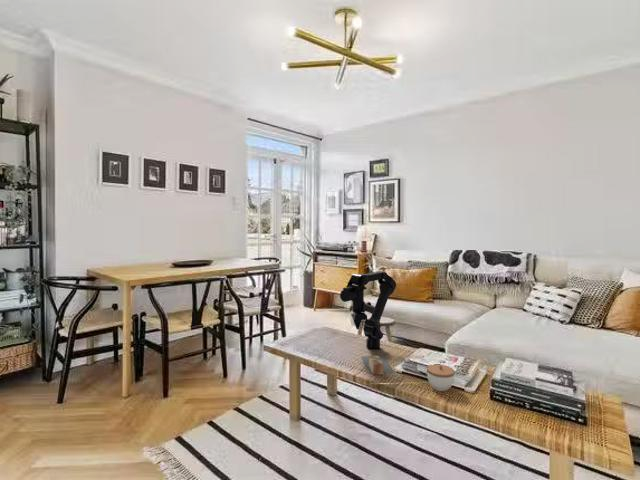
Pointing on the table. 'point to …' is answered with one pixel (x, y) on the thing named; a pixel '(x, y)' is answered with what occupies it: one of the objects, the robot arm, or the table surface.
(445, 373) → the lidded jar
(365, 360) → the rubber mat
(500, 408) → the table surface
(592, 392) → the table surface
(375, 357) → the tan long rectangular block
